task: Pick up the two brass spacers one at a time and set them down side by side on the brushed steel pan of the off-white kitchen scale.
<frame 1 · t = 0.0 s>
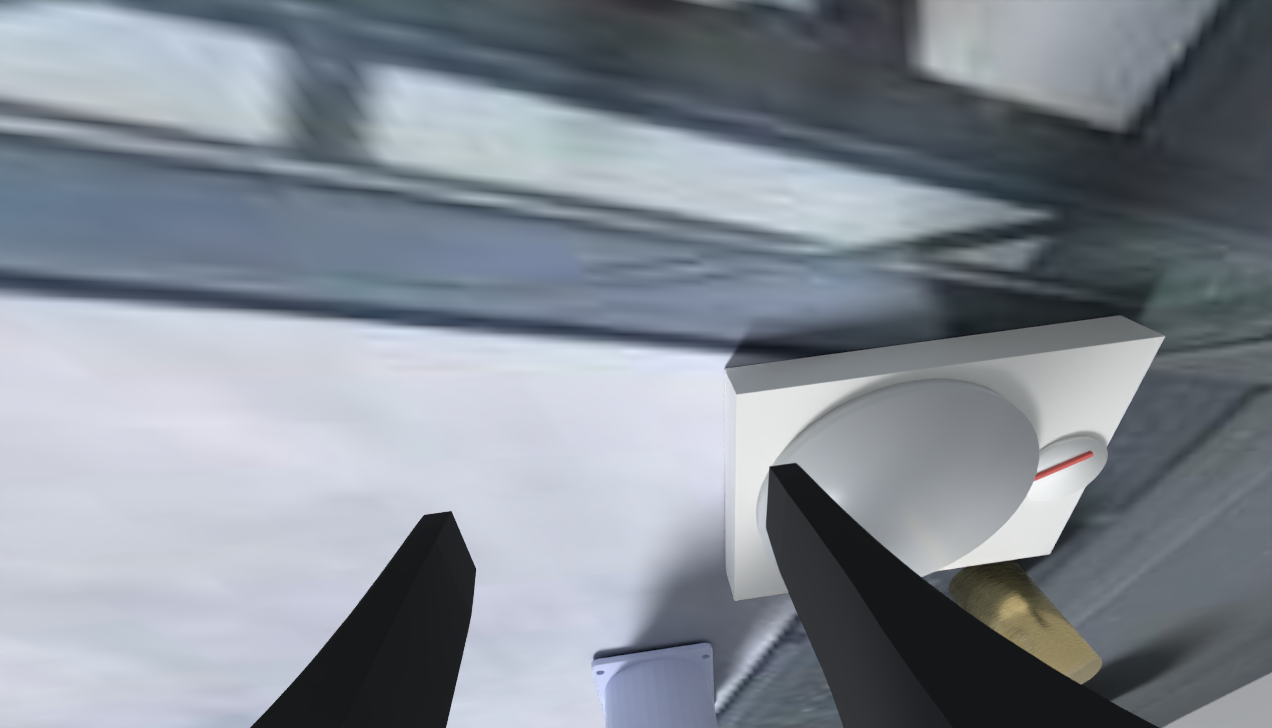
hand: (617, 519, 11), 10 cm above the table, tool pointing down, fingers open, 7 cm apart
spacer b: (983, 579, 32), on the table
kitchen scale: (896, 459, 26), on the table
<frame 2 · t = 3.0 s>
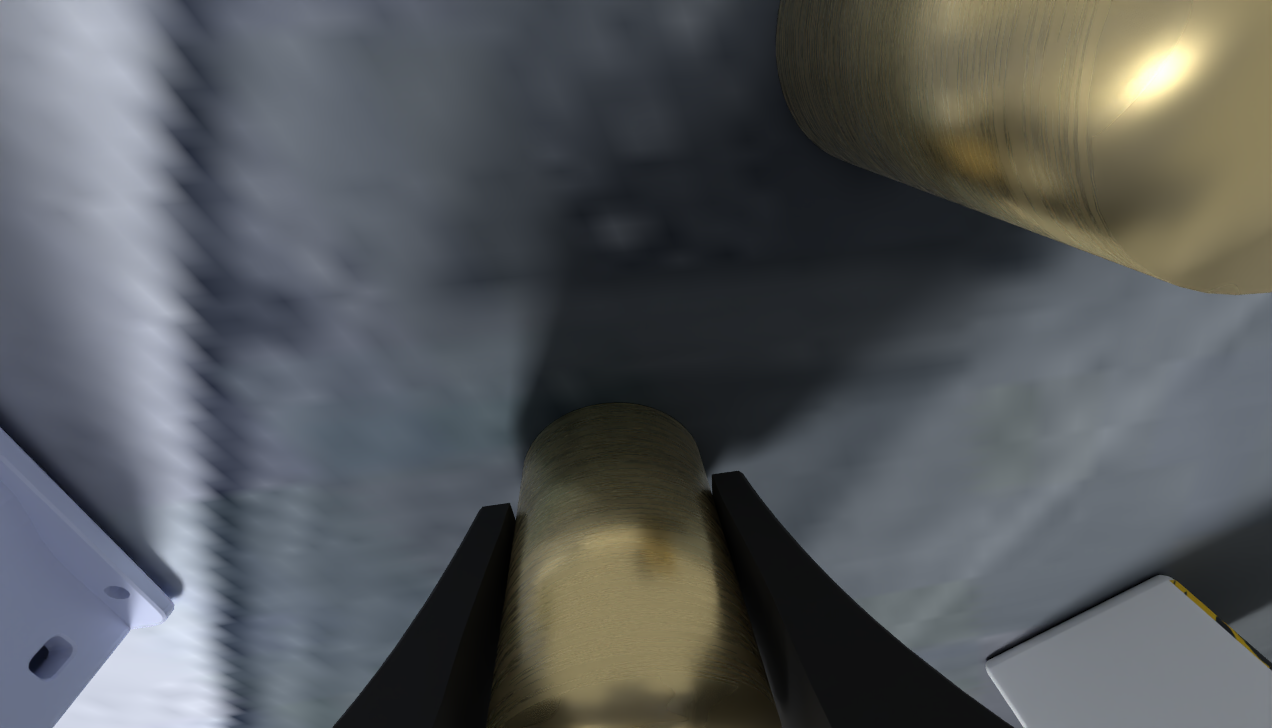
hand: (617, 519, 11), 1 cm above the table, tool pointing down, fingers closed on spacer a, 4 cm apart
spacer b: (911, 19, 8), on the table
medicine bottle: (1092, 642, 20), on the table
spacer a: (613, 474, 13), on the table, touching gripper
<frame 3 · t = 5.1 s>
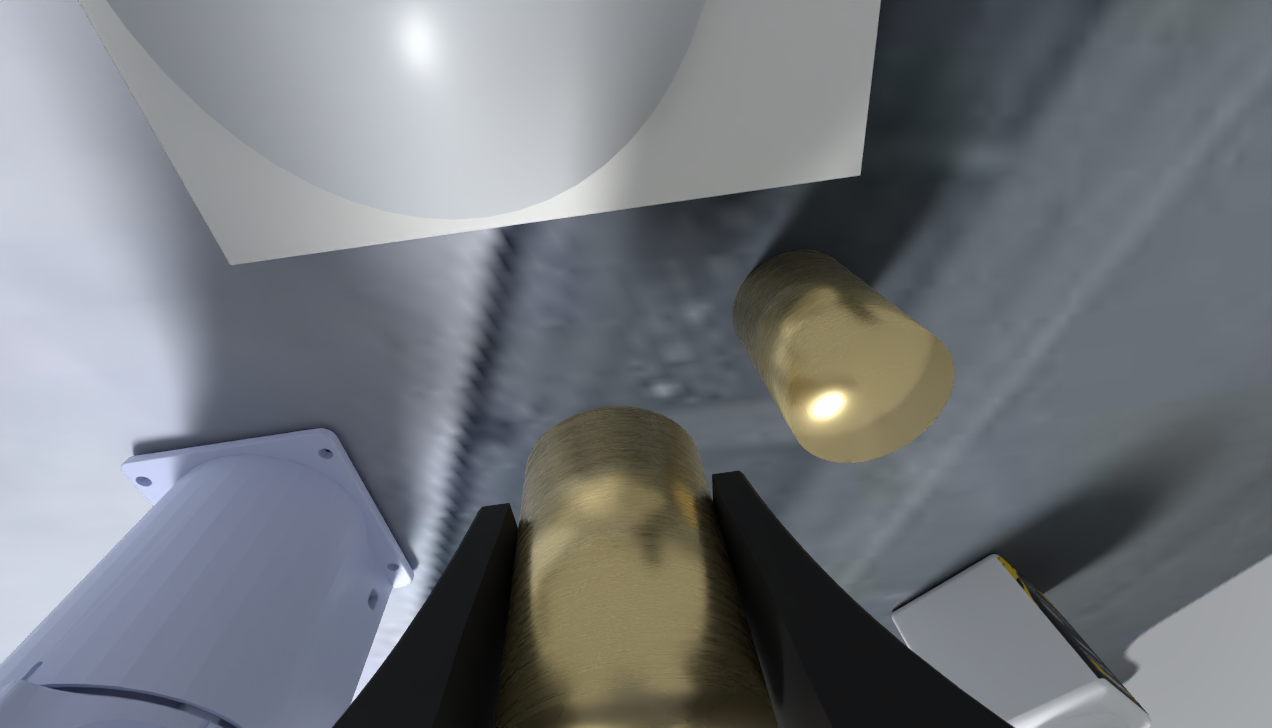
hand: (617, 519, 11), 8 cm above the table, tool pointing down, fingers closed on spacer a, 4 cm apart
spacer b: (791, 307, 19), on the table
medicine bottle: (964, 600, 31), on the table
spacer a: (614, 475, 13), point 7 cm above the table, touching gripper
when the fingers open (5 cm above the table, at t = 7.1 s): spacer a stays where it is, resting on kitchen scale.
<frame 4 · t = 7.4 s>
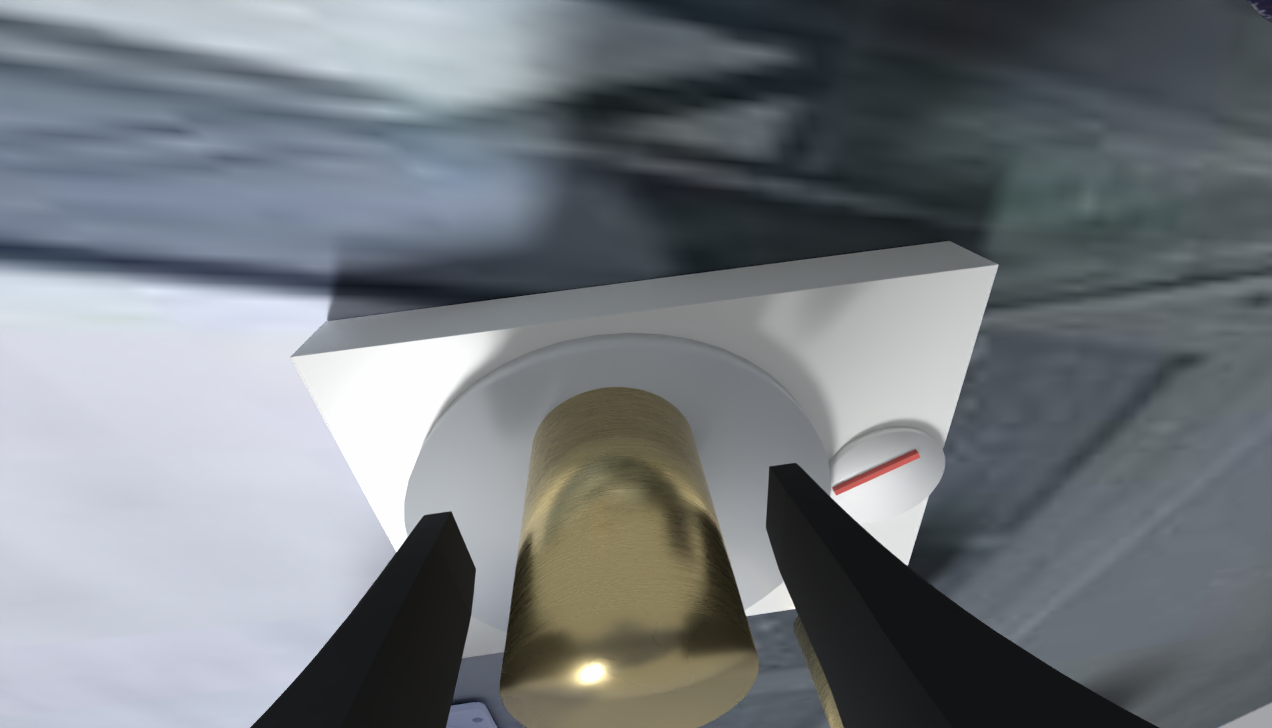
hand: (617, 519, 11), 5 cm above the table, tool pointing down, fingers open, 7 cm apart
spacer b: (838, 619, 24), on the table
kitchen scale: (660, 461, 18), on the table
spacer a: (614, 454, 14), point 3 cm above the table, touching kitchen scale
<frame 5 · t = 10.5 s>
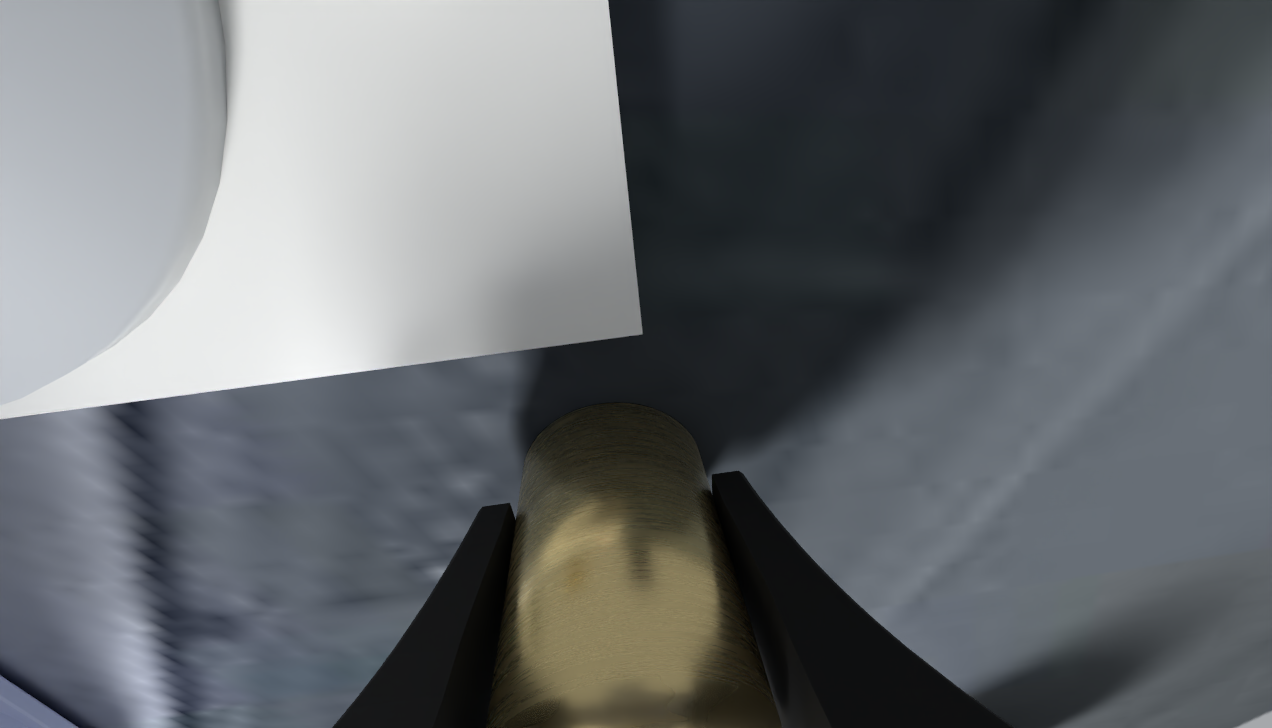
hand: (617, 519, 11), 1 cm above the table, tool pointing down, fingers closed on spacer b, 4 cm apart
spacer b: (613, 474, 13), on the table, touching gripper
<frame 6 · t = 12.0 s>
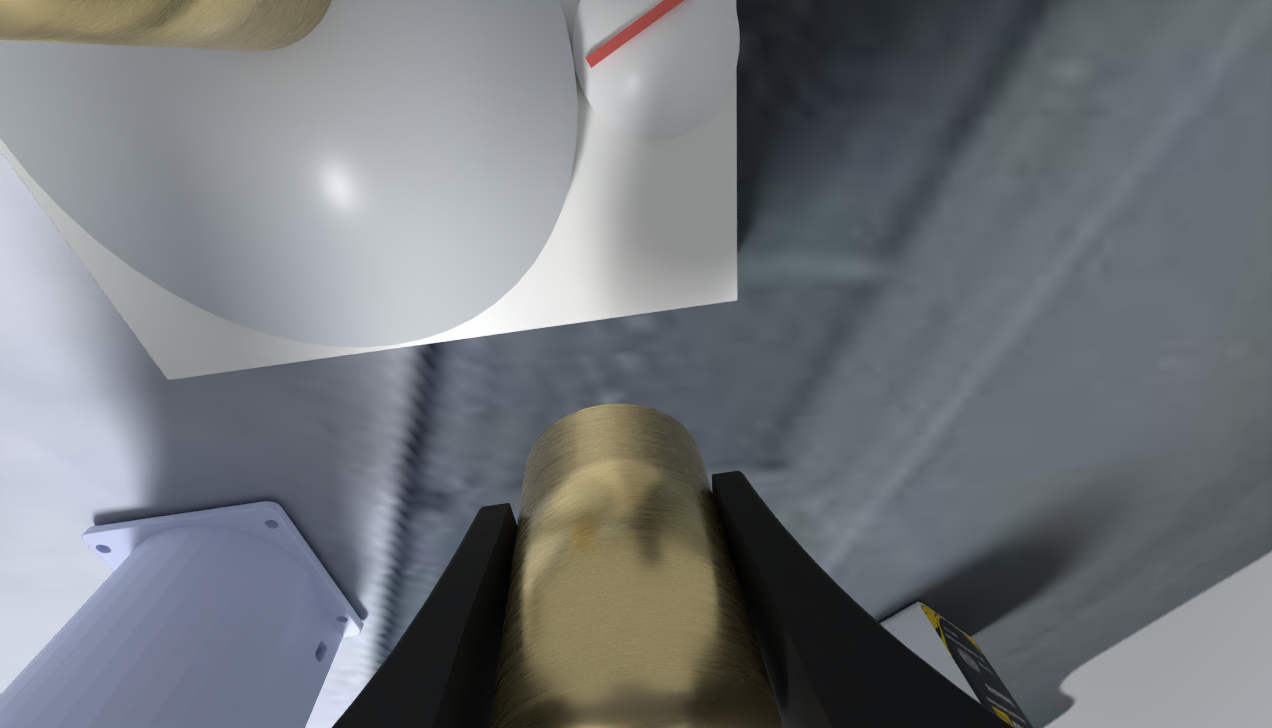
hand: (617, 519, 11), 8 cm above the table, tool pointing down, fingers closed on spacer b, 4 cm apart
spacer b: (614, 475, 13), point 7 cm above the table, touching gripper
medicine bottle: (896, 641, 32), on the table
kitchen scale: (394, 84, 14), on the table
when the fingers open (5 cm above the table, at t = 13.5 s): spacer b drops 1 cm, resting on kitchen scale.
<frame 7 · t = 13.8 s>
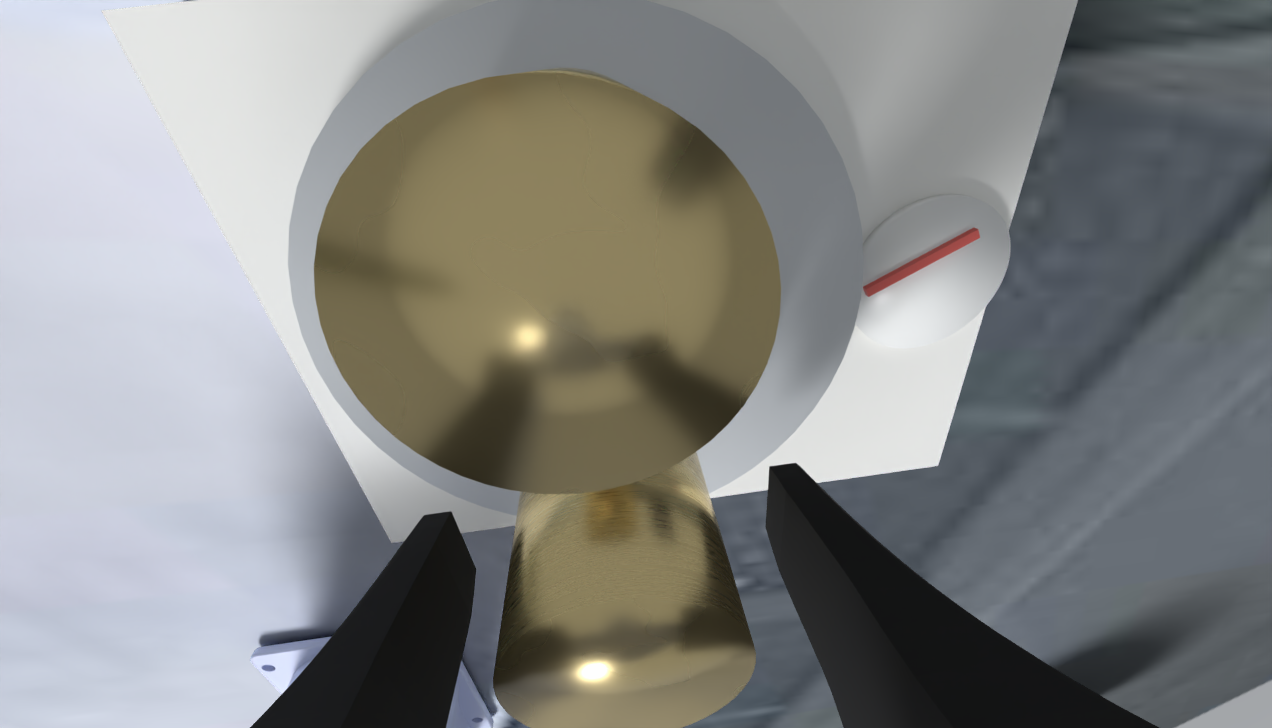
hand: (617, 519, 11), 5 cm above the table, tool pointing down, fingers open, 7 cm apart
spacer b: (610, 448, 14), point 3 cm above the table, touching kitchen scale
kitchen scale: (643, 280, 14), on the table
spacer a: (572, 196, 10), point 3 cm above the table, touching kitchen scale
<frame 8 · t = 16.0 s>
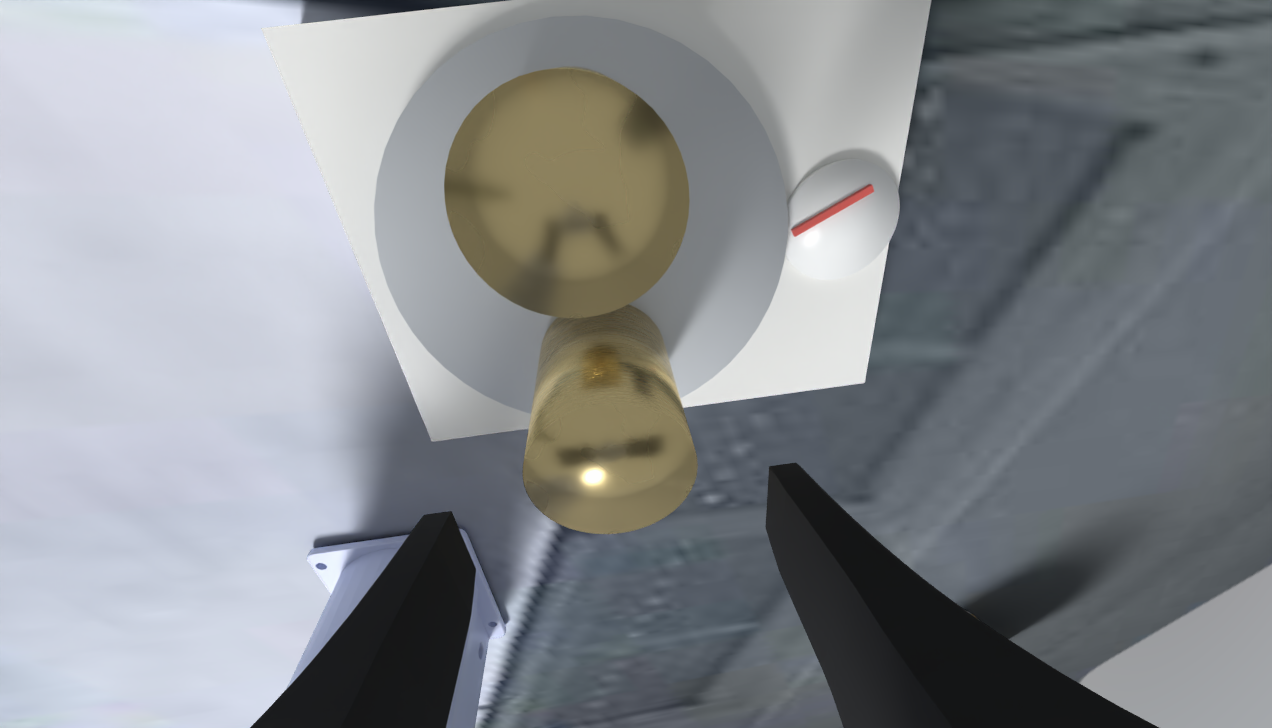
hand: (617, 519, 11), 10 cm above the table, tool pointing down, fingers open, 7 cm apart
spacer b: (603, 357, 18), point 3 cm above the table, touching kitchen scale
kitchen scale: (628, 230, 18), on the table
spacer a: (575, 156, 14), point 3 cm above the table, touching kitchen scale
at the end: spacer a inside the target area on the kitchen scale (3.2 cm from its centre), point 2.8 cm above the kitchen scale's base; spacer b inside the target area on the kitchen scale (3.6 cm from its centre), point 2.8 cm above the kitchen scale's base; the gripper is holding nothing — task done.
